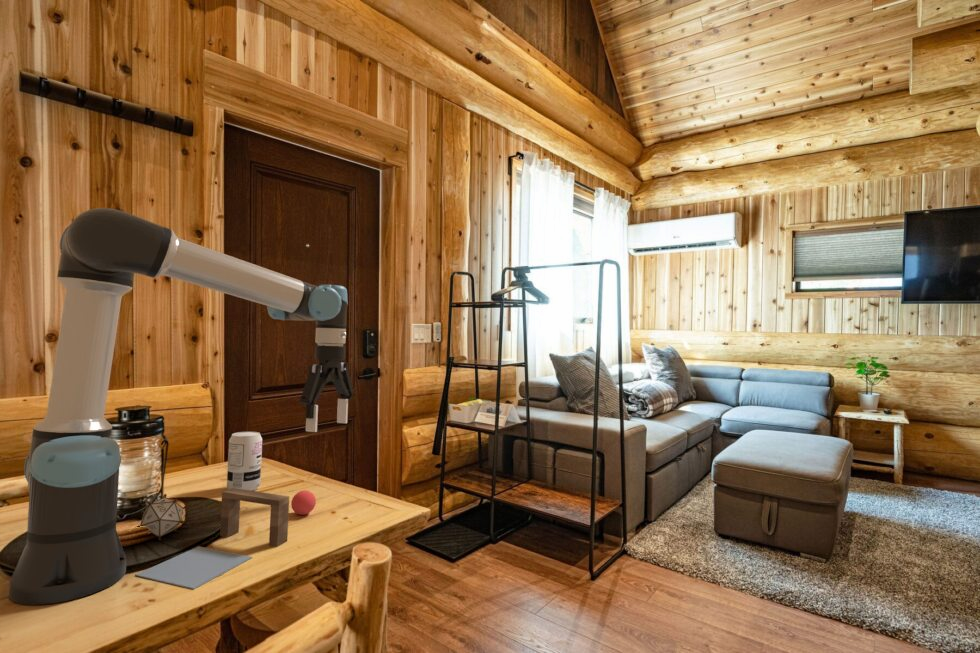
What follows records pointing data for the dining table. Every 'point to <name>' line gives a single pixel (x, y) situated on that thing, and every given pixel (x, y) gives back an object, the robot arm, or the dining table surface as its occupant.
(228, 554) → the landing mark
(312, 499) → the ball
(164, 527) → the game die
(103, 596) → the dining table surface
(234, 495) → the bridge
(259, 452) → the supplement can
